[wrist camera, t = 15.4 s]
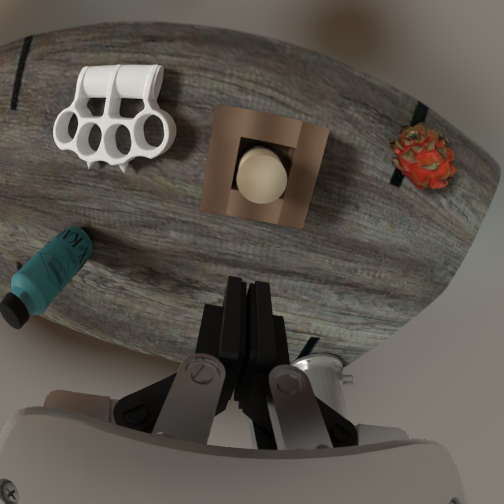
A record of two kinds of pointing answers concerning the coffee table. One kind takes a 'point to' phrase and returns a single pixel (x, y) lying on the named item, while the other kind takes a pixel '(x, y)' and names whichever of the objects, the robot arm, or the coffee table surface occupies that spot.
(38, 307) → the beverage bottle
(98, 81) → the knuckle duster
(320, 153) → the socket block
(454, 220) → the coffee table surface
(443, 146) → the dragon fruit
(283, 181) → the peg
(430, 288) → the coffee table surface
